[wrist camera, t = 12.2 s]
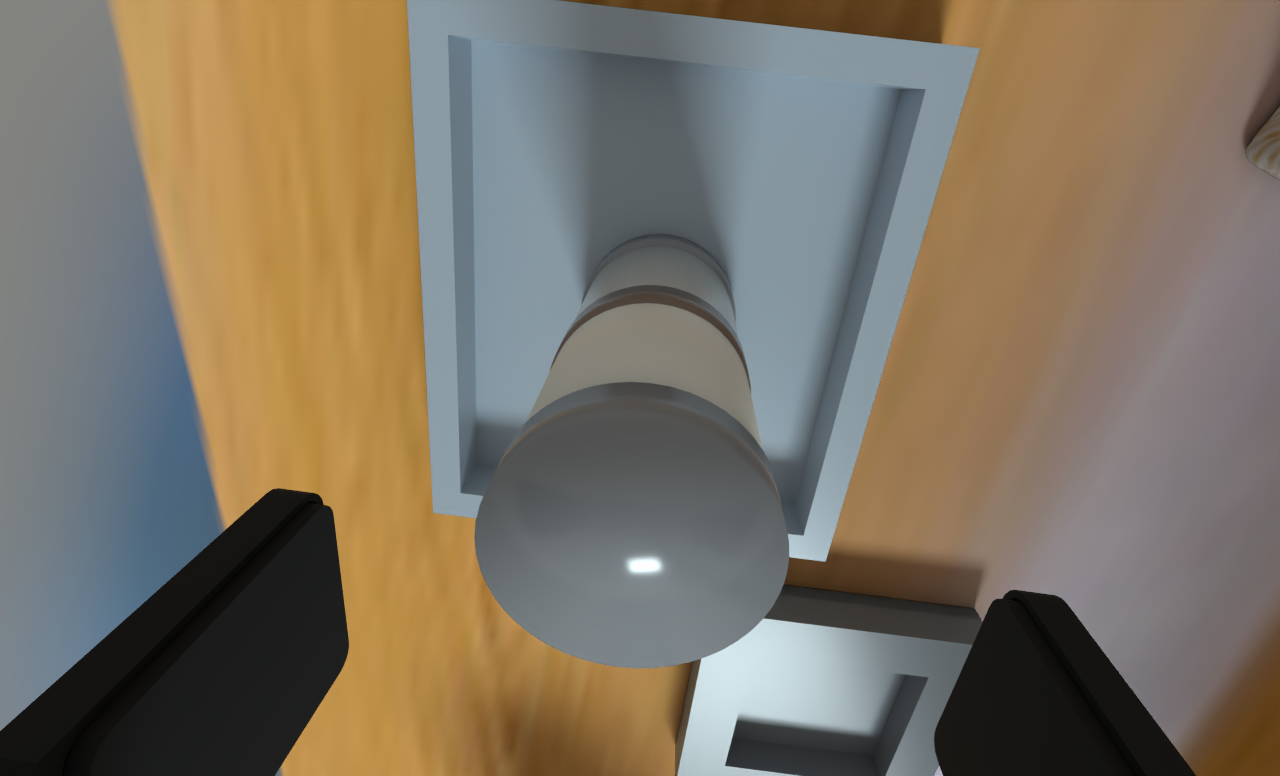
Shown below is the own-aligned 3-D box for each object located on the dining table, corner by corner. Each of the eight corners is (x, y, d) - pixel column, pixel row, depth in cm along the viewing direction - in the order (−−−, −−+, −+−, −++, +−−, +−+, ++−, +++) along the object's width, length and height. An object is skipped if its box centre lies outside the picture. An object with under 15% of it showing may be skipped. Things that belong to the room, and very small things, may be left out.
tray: (941, 53, 17) (980, 48, 15) (812, 518, 24) (825, 561, 22) (441, -3, 17) (405, -18, 15) (456, 473, 24) (433, 512, 22)
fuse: (745, 243, 19) (823, 442, 8) (720, 382, 21) (756, 684, 11) (591, 225, 19) (473, 398, 8) (581, 365, 21) (476, 648, 11)
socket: (974, 608, 26) (996, 647, 24) (884, 806, 31) (897, 849, 30) (709, 575, 26) (711, 611, 24) (669, 778, 32) (668, 819, 30)
